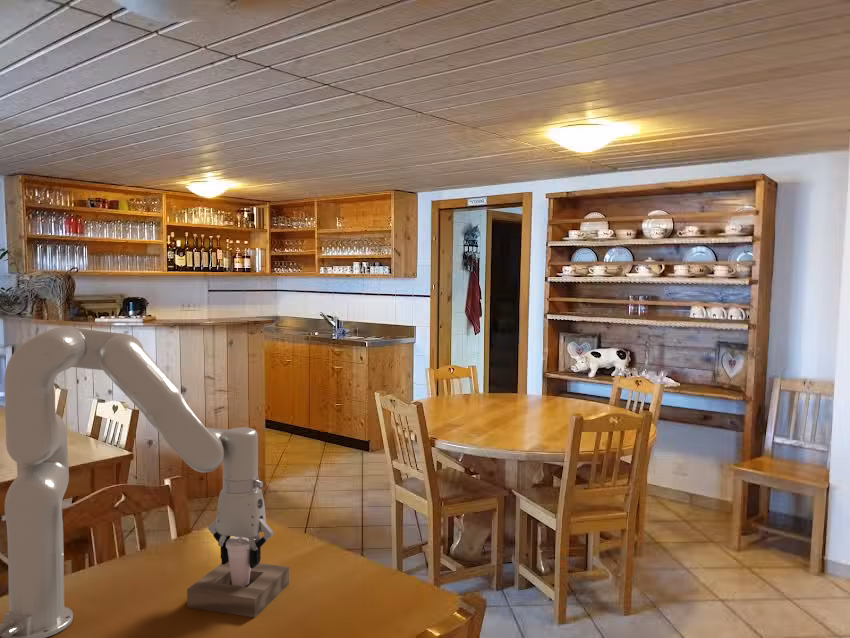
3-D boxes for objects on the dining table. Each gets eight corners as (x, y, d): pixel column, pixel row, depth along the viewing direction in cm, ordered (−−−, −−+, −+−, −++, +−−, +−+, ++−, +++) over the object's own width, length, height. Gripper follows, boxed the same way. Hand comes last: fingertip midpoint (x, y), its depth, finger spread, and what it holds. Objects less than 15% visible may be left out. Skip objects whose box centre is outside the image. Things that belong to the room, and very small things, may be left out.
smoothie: (225, 591, 141) (224, 528, 141) (226, 578, 147) (225, 517, 147) (255, 588, 143) (255, 525, 142) (255, 575, 149) (255, 515, 148)
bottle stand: (254, 617, 136) (255, 598, 135) (187, 607, 139) (187, 588, 139) (288, 583, 151) (289, 567, 151) (227, 575, 155) (227, 558, 155)
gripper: (283, 482, 146) (283, 561, 147) (214, 476, 150) (215, 552, 151) (268, 493, 138) (267, 575, 139) (196, 486, 142) (196, 566, 143)
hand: (240, 563), depth 145 cm, fingers closed on smoothie, 6 cm apart
